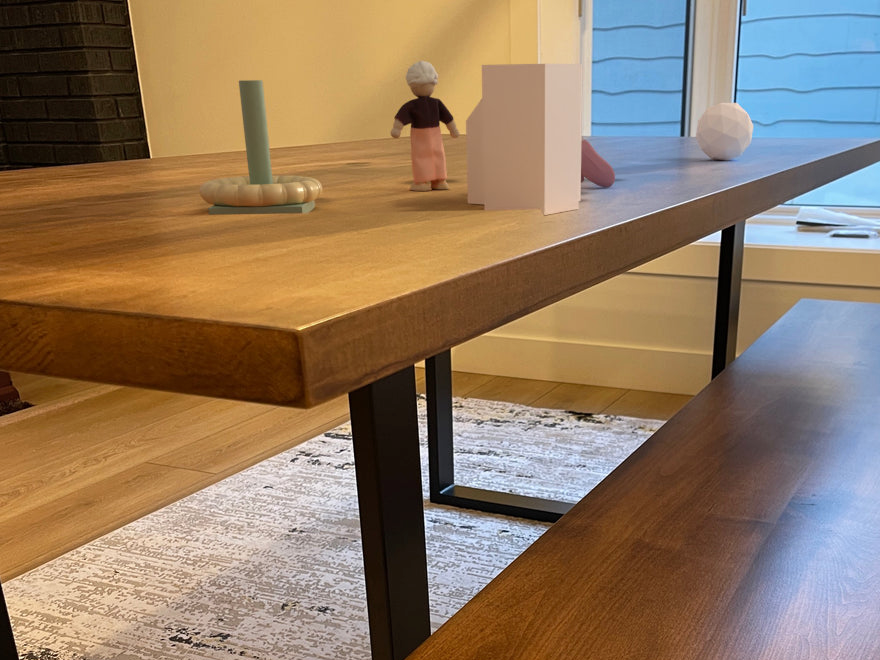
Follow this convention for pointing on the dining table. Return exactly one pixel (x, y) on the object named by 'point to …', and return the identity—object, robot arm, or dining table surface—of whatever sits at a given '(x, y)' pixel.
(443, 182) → the grandmother figurine
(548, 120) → the white angular block
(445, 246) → the dining table surface
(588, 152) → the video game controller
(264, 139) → the green peg stand
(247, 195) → the bracelet
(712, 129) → the geometric ball
